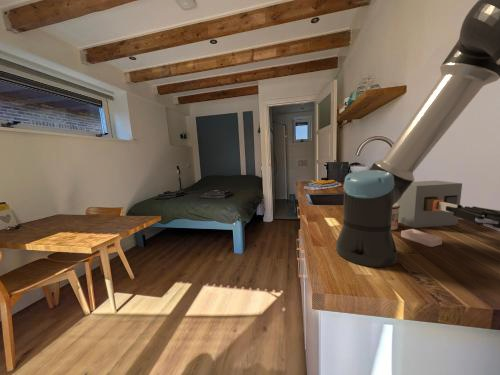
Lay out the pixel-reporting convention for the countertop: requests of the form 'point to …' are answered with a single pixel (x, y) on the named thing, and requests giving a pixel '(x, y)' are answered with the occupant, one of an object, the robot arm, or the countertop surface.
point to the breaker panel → (414, 203)
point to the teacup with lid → (395, 216)
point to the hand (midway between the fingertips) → (440, 205)
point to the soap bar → (421, 237)
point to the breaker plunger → (432, 203)
